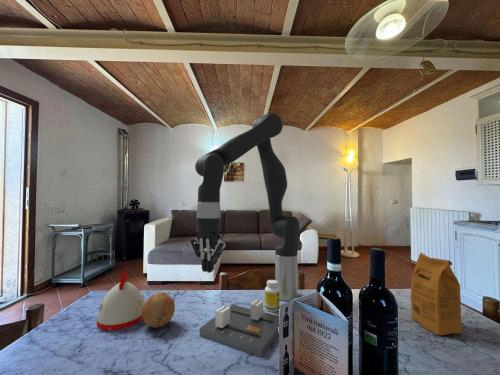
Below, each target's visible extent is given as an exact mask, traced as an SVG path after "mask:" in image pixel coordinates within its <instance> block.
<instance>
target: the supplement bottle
mask: <svg viewBox="0 0 500 375" xmlns="http://www.w3.org/2000/svg"><path fill="white" fill-rule="evenodd" d="M277 286H278V282H277V281H276V280H275V279H269V280H267V281H266V287H264V309H265V311H268V312H270V313H271V312H272V313H275V312H278V311H280V299H279V297H280V291H279V288H278V287H277Z"/></svg>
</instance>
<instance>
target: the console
mask: <svg viewBox="0 0 500 375" xmlns="http://www.w3.org/2000/svg"><path fill="white" fill-rule="evenodd" d="M229 307H230V322H229V323H228V324H227V325H226V326H225V327H223V328H219V327H216V326H215V317H213V318H212V319H210V320H209V321H208V322H206V323H205V324H203V325H202V326H201V327H200V328H199V336H200V337H203V338H206V339H209V340H212V341H214V342H217V343H220V344H223V345H225V346H229V347H230V348H233V349H237V350H240V351H242V352H246V353H248V354H251V355H252V356H253V355H254V356H257V357H260V358H262V357H263V356H264V355H265V354H266V352H267V351H268V349H269V348H270V347H271V345H272V344H273V342H274V341H275V339H276V338H277V337H278V336H279V334H278V327H279V316H280V315H275V314H272V313H267V312H265V311H263V316H262V317H261V318H260V319H259V320H254V319H251V308H247V307H244V306H240V305H236V304H232V305H230V306H229Z"/></svg>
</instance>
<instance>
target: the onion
mask: <svg viewBox="0 0 500 375" xmlns="http://www.w3.org/2000/svg"><path fill="white" fill-rule="evenodd" d="M175 311H176V303H175V301H174V298H173V297H172V296H171V295H169V294H168V293H166V292H164V291H163V292H157V293H156V292H155V293H154V294H153V293H152V294H151V295H150V296H149V297H147V299H146V300H144V305H143V308H142V318H143V319H142V320H143V322H144V324H145V325H146V326H148V327H151V328H153V329H154V328H162V327H164V326H166V324H168V323H169V322H170V321H171V320H172V318H173V317H174V315H175Z"/></svg>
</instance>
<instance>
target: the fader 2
mask: <svg viewBox="0 0 500 375" xmlns="http://www.w3.org/2000/svg"><path fill="white" fill-rule="evenodd" d="M250 309H251V319H254V320H259V319H260V318H261V317H262V316H263V312H264V300H260V299H255V300H254V301H252V302H251V303H250Z"/></svg>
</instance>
